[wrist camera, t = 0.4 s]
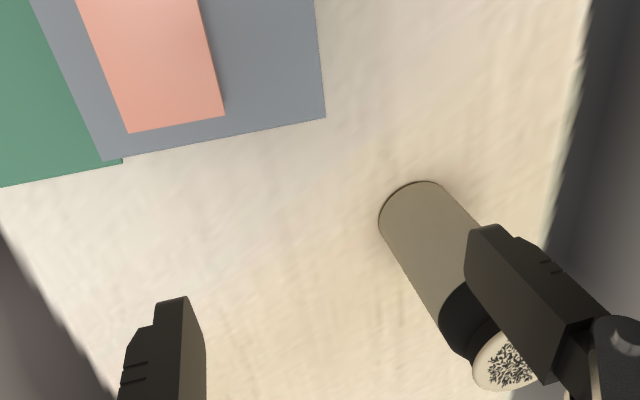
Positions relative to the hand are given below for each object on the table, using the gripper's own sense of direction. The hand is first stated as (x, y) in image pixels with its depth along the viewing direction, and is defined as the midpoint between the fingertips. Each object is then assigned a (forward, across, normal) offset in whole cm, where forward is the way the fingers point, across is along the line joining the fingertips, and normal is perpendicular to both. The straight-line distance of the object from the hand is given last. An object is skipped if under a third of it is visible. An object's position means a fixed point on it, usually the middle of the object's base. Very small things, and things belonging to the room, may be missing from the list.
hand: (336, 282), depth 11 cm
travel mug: (+24, -14, +18) cm, 33 cm away
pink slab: (+19, +6, -3) cm, 20 cm away
